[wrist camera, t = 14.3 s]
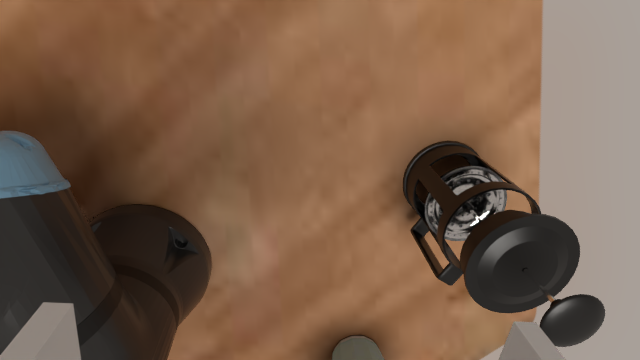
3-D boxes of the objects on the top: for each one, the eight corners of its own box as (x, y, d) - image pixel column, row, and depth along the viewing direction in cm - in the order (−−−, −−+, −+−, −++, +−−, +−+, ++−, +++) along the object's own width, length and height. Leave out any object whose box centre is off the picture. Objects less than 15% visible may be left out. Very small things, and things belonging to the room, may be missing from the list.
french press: (443, 119, 43) (595, 227, 22) (503, 163, 46) (689, 297, 25) (377, 202, 46) (454, 364, 25) (436, 239, 49) (551, 413, 28)
